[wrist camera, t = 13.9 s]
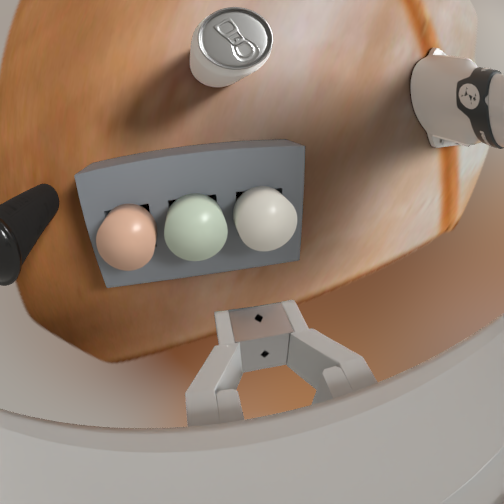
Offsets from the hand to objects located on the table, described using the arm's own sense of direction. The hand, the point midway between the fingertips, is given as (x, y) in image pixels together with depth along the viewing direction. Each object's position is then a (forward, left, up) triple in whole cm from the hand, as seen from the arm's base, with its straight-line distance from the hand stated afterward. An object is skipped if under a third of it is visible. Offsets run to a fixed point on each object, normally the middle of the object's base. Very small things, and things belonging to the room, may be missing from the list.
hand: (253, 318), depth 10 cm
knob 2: (-5, +4, -24) cm, 25 cm away
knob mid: (+2, +4, -24) cm, 25 cm away
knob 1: (+9, +4, -24) cm, 26 cm away
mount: (+2, +4, -25) cm, 25 cm away
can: (-2, -13, -25) cm, 29 cm away
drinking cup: (+22, 0, -25) cm, 34 cm away
